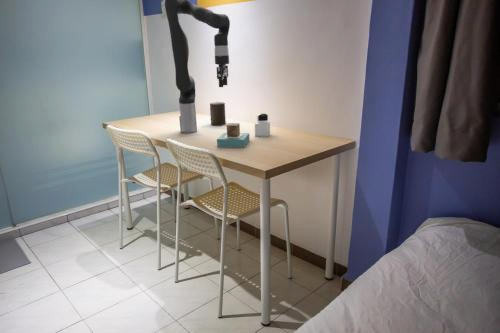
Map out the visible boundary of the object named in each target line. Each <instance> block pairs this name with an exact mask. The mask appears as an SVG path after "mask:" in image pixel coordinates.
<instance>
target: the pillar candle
mask: <svg viewBox="0 0 500 333" xmlns="http://www.w3.org/2000/svg"><path fill="white" fill-rule="evenodd" d="M209 110H210V125H211V126H223V125H227V122H226V119H227V118H226V103H225V102H223V101H219V102H218V101H215V102H210V103H209Z"/></svg>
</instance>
